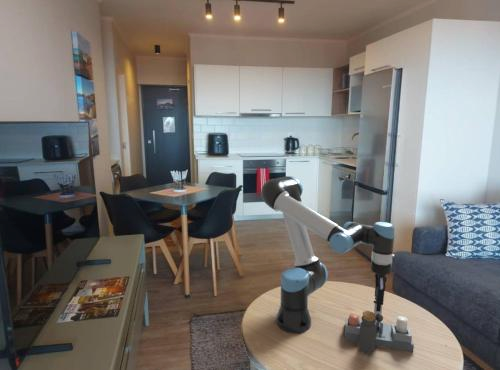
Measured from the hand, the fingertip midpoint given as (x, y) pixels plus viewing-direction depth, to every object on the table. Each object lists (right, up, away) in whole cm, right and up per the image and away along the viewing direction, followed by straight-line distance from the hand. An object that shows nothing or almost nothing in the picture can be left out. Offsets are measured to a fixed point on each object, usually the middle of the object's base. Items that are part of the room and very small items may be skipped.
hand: (377, 316), depth 134 cm
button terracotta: (-9, -5, +2) cm, 11 cm away
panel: (+1, -9, +2) cm, 9 cm away
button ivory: (+8, -4, -3) cm, 10 cm away
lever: (0, -5, +2) cm, 6 cm away
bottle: (-6, -11, -6) cm, 14 cm away
